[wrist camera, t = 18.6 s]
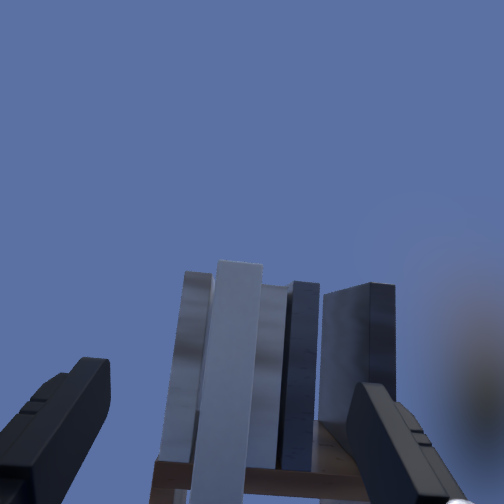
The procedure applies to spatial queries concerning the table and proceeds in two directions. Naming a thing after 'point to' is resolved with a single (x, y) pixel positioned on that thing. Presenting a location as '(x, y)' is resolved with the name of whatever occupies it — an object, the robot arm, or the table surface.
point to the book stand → (284, 388)
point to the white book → (227, 386)
